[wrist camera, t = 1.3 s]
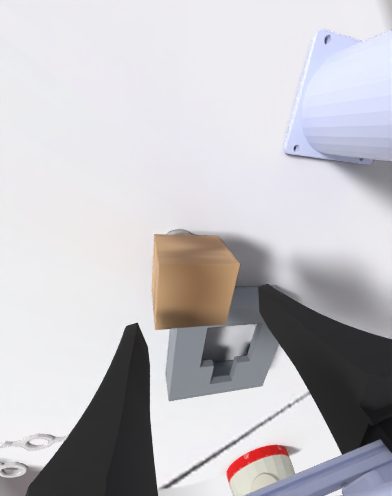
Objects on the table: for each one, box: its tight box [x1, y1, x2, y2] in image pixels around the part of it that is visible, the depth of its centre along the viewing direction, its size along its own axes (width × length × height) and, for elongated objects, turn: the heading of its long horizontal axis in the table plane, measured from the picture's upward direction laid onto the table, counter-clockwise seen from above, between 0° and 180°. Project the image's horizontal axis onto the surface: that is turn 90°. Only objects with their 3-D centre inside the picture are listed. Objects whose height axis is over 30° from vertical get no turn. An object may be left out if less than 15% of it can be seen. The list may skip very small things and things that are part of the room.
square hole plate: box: [166, 286, 284, 401], centre depth 26 cm, size 12×13×3 cm
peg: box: [152, 229, 240, 330], centre depth 18 cm, size 5×5×8 cm
